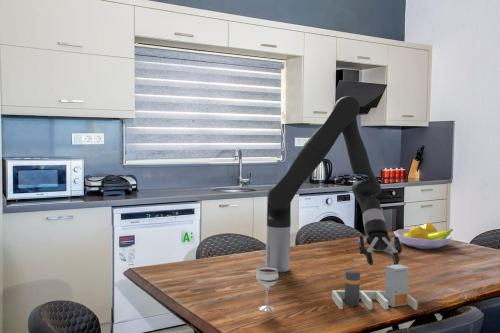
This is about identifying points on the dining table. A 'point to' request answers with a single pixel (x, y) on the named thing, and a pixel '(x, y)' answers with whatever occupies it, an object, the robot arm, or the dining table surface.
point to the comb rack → (369, 298)
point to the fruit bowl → (424, 236)
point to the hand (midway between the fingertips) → (384, 264)
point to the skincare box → (396, 285)
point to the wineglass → (267, 282)
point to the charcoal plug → (352, 288)
